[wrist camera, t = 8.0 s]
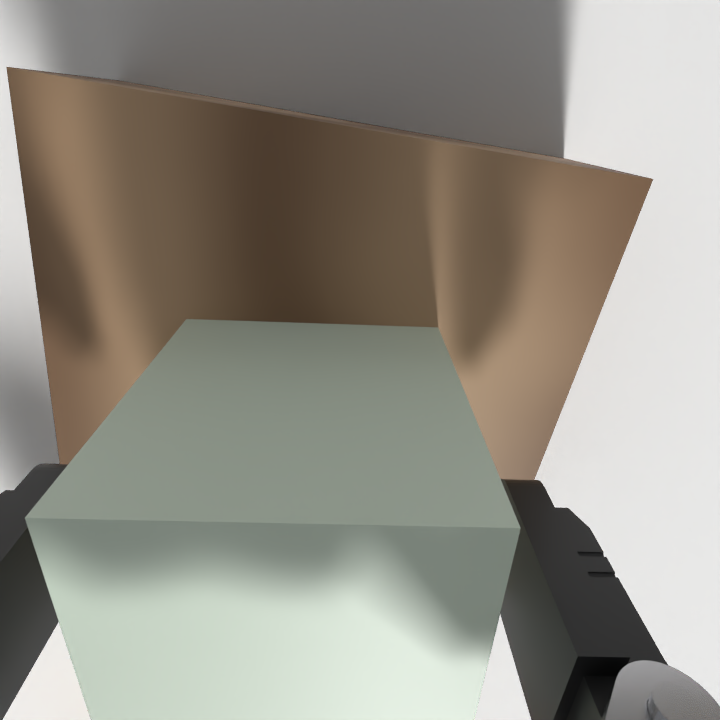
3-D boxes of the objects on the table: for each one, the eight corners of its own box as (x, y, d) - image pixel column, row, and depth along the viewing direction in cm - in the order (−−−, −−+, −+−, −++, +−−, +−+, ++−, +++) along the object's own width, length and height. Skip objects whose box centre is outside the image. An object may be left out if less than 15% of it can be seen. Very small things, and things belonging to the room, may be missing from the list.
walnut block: (558, 156, 14) (652, 179, 10) (456, 485, 19) (487, 597, 15) (123, 81, 13) (7, 67, 9) (139, 448, 18) (72, 556, 14)
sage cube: (438, 327, 11) (520, 527, 6) (415, 517, 13) (458, 785, 8) (186, 319, 11) (25, 517, 6) (209, 513, 13) (112, 784, 8)
